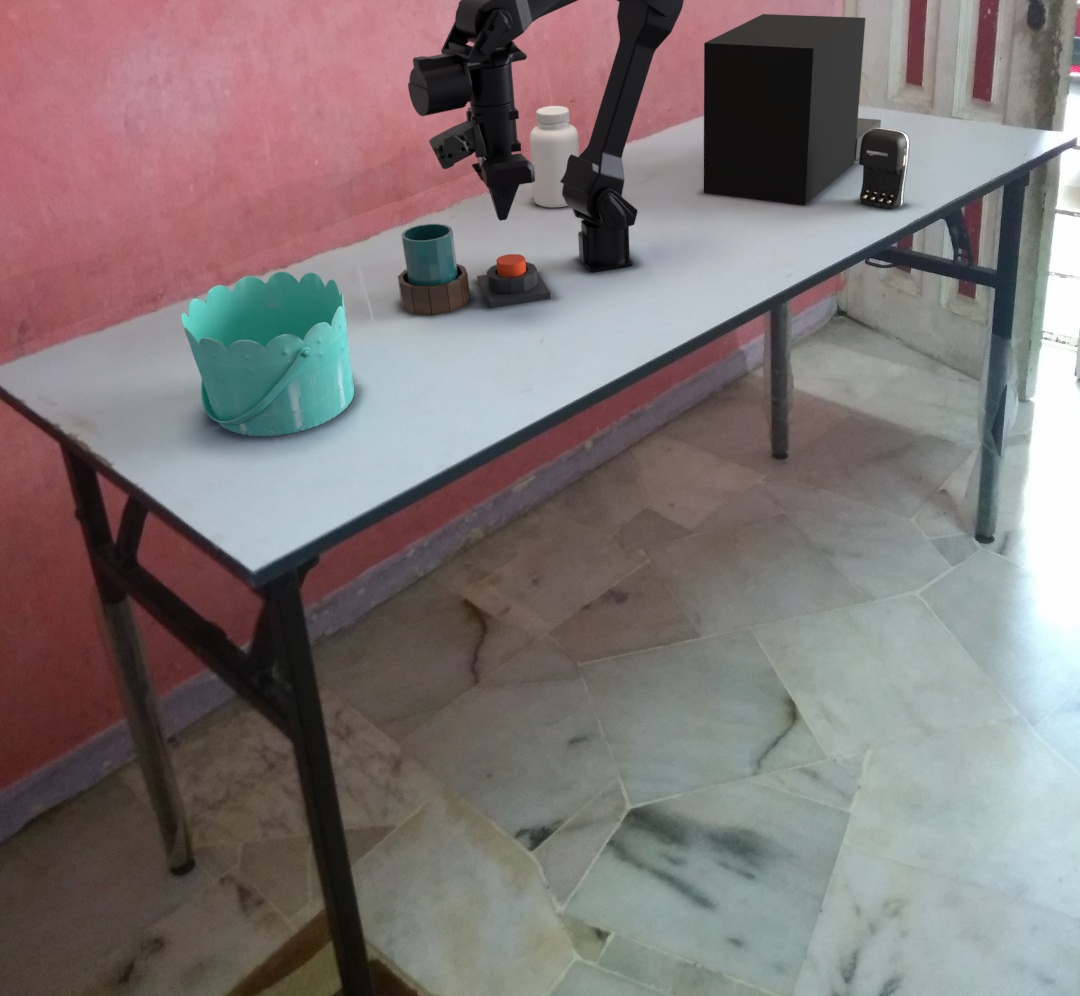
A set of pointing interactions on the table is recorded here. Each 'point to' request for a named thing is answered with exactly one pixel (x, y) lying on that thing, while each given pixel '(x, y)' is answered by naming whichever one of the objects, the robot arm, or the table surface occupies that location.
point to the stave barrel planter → (435, 295)
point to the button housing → (513, 287)
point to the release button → (511, 265)
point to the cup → (429, 254)
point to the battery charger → (884, 167)
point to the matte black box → (783, 106)
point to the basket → (272, 353)
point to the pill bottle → (551, 154)
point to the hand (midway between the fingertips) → (502, 219)
